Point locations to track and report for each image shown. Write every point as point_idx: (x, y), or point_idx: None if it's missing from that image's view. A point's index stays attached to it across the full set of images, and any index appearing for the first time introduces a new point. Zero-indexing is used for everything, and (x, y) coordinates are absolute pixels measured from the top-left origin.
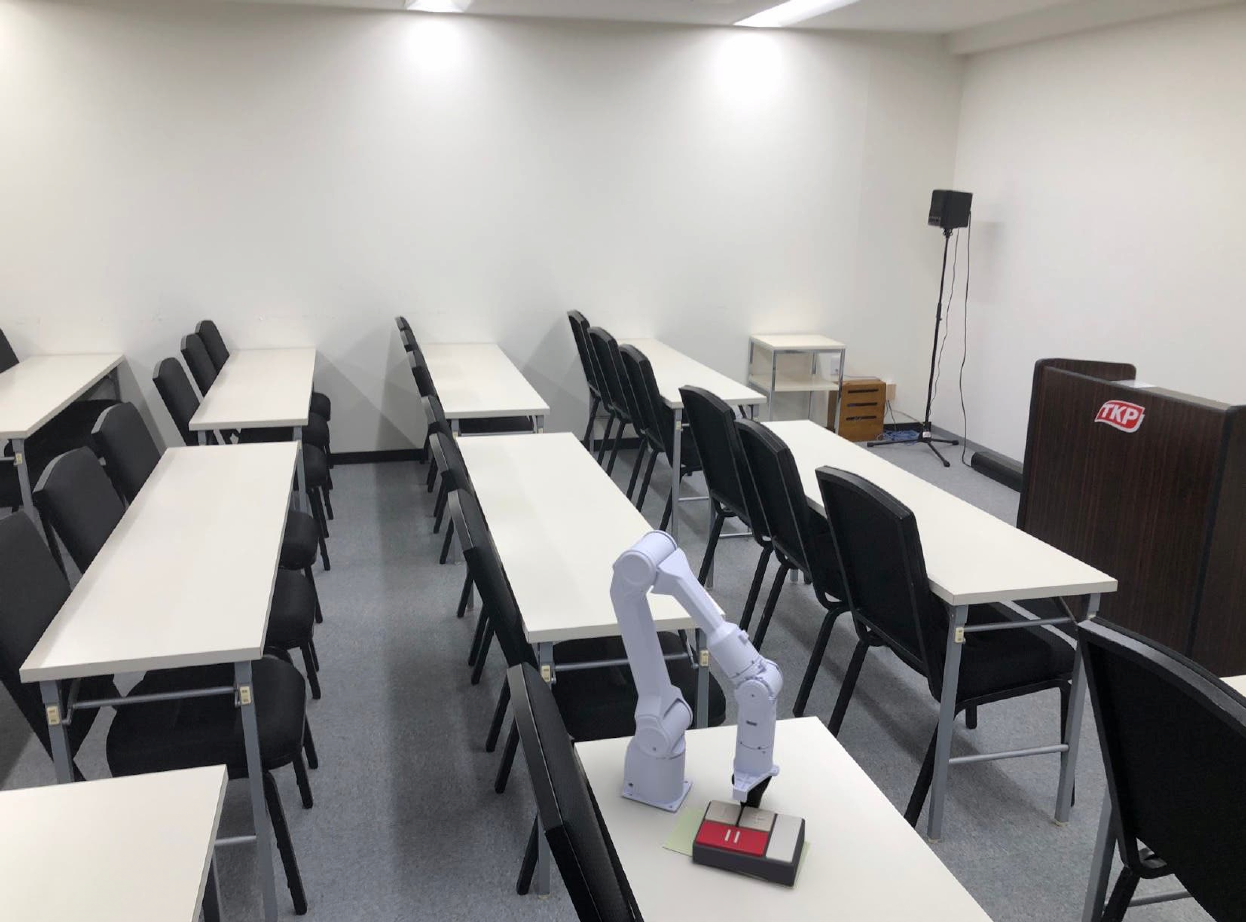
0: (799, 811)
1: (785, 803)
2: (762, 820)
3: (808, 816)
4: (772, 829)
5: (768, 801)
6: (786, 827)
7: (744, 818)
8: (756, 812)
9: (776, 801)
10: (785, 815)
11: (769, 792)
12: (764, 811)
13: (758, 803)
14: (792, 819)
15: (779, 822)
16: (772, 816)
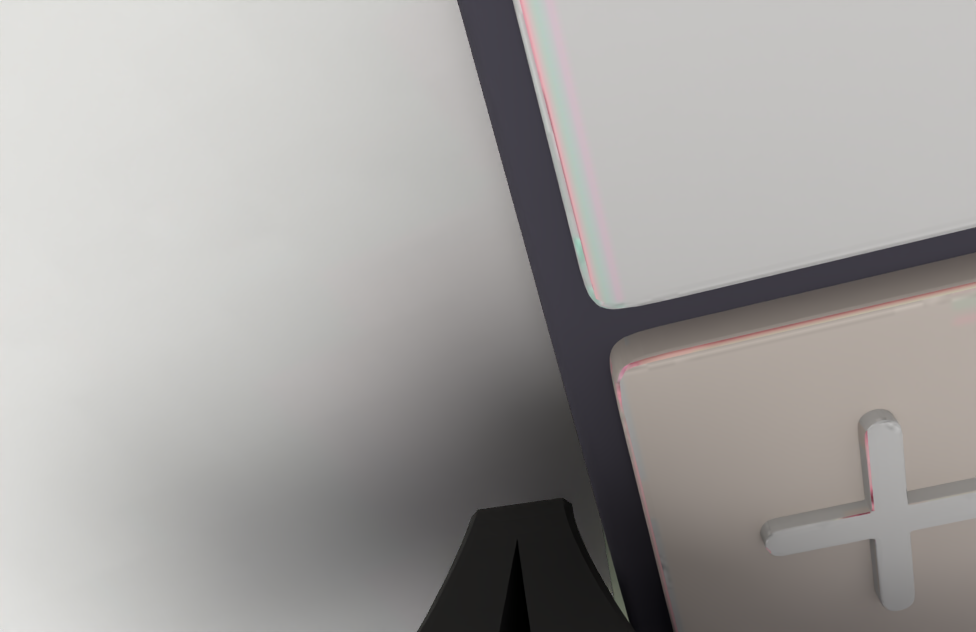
0: (19, 143)
1: (26, 326)
2: (906, 431)
3: (12, 9)
4: (971, 230)
5: (135, 471)
6: (907, 43)
7: (958, 621)
8: (761, 558)
9: (73, 411)
10: (587, 198)
11: (8, 516)
12: (685, 487)
13: (627, 625)
14: (638, 46)
15: (810, 205)
16: (749, 354)
